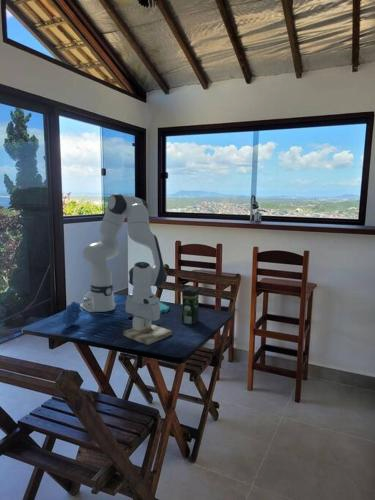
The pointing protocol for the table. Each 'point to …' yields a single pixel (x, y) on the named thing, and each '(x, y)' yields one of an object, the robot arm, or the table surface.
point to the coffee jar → (190, 305)
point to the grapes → (71, 314)
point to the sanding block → (140, 324)
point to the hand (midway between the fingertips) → (142, 325)
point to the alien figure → (163, 307)
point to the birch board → (148, 334)
